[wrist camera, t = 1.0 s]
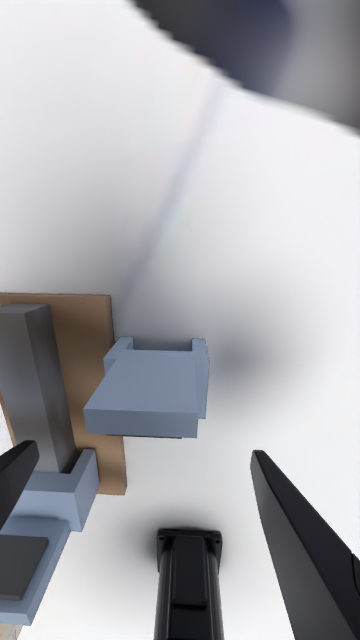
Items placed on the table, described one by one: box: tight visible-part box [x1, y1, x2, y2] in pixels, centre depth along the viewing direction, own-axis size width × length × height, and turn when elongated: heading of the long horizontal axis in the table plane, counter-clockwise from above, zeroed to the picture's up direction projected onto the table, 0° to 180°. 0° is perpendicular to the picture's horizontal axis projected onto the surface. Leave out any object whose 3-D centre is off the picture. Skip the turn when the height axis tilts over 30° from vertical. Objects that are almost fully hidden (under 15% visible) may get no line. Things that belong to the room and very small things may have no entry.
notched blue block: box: [83, 337, 209, 439], centre depth 12 cm, size 4×6×7 cm, turn 89°
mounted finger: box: [0, 449, 100, 626], centre depth 14 cm, size 4×6×7 cm, turn 89°
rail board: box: [0, 293, 127, 495], centre depth 15 cm, size 18×9×3 cm, turn 179°
